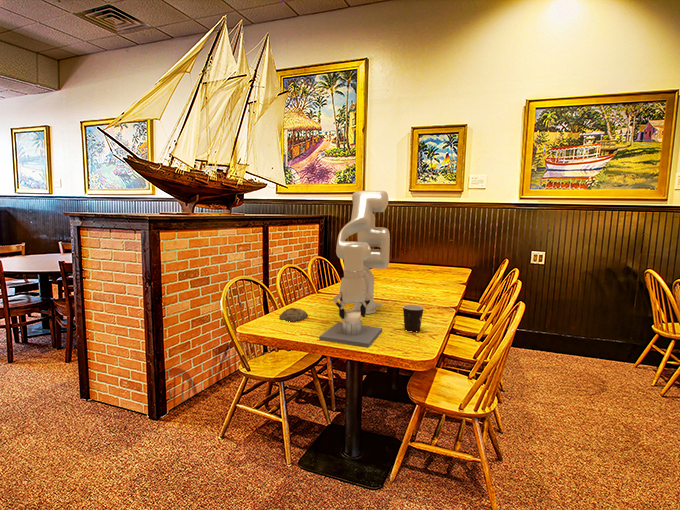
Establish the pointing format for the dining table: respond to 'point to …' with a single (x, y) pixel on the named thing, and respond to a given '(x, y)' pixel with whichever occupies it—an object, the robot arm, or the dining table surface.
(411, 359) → the dining table surface
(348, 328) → the square plate with socket
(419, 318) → the coffee mug
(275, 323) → the dining table surface
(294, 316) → the seeded bread roll
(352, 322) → the plug
